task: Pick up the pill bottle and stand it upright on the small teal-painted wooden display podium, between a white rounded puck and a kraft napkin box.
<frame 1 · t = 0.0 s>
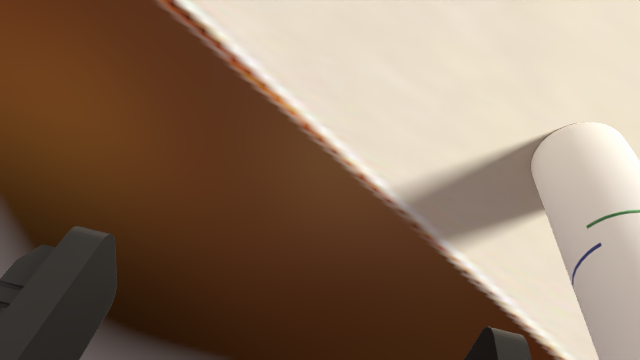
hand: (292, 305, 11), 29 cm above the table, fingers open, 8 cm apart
cylindrical container: (577, 160, 41), on the table
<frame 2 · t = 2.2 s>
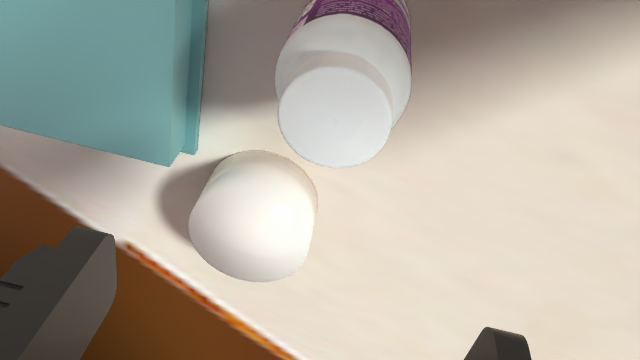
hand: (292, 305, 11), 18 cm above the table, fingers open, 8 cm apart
white rounded puck: (263, 196, 32), on the table
pill bottle: (355, 25, 25), on the table
podium: (102, 39, 27), on the table
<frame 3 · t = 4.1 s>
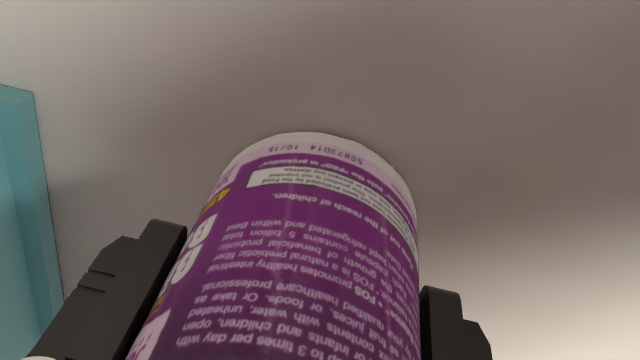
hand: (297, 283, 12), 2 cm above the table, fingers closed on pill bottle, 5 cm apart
pill bottle: (315, 207, 14), on the table, touching gripper
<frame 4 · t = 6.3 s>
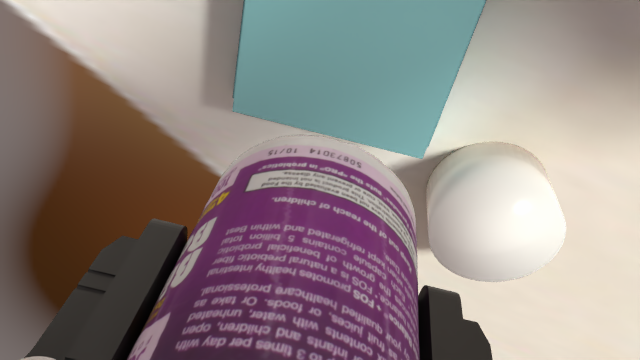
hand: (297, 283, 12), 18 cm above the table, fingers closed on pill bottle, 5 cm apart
white rounded puck: (485, 191, 31), on the table
pill bottle: (314, 210, 14), point 15 cm above the table, touching gripper
podium: (355, 21, 26), on the table
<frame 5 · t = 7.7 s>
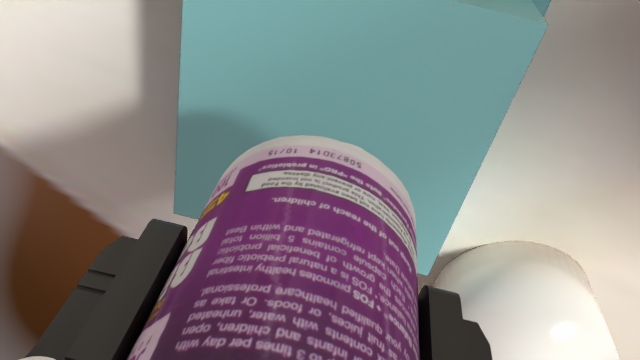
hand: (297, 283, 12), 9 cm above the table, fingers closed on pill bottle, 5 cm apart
white rounded puck: (507, 295, 24), on the table
pill bottle: (314, 210, 14), point 7 cm above the table, touching gripper
podium: (338, 94, 19), on the table
when the fingers open (6 cm above the table, at t = 8.9 s): pill bottle stays where it is, resting on podium.
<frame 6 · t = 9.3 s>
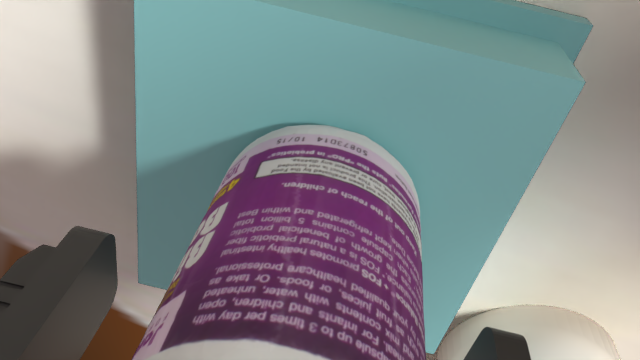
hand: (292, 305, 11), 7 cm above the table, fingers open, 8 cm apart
pill bottle: (320, 199, 14), point 3 cm above the table, touching podium
podium: (328, 146, 16), on the table
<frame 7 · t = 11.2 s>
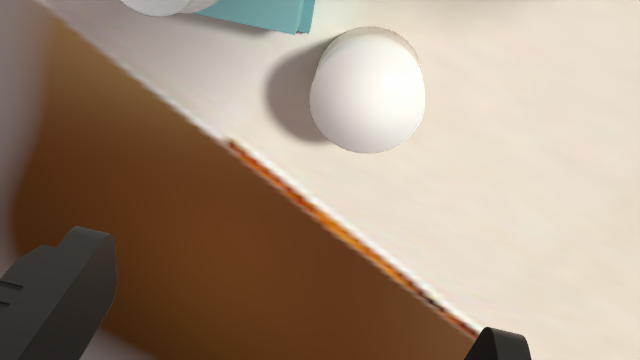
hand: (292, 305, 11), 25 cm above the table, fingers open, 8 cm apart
white rounded puck: (368, 77, 34), on the table
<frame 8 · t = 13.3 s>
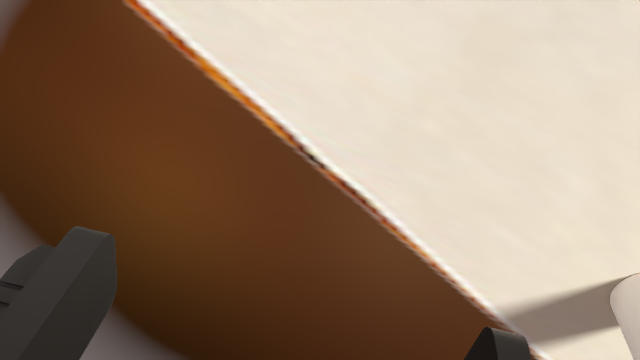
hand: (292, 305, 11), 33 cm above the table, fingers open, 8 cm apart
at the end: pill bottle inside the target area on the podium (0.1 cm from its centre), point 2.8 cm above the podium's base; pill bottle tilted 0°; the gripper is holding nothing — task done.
